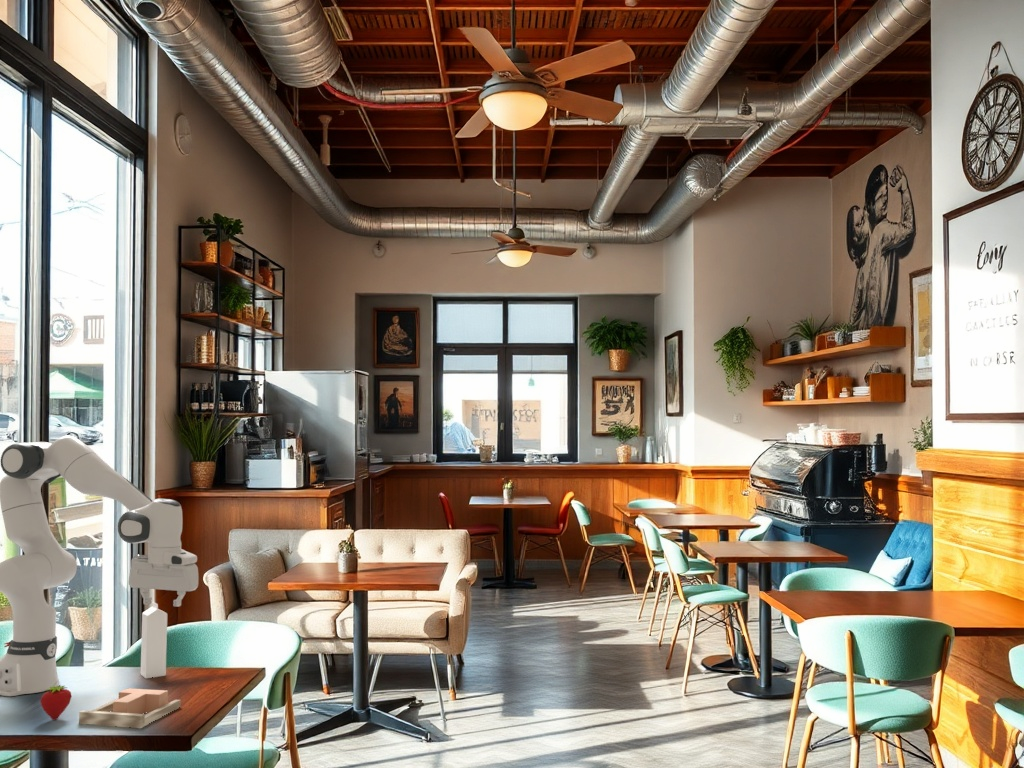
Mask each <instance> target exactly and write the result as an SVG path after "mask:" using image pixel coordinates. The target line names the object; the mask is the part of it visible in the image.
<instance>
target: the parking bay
mask: <svg viewBox="0 0 1024 768" xmlns="http://www.w3.org/2000/svg"><path fill="white" fill-rule="evenodd" d="M118 699H119V697H118V698H116V699H113V700H111V701H109V702H107V703H105V704H102V705H100V706H98V707H96V708H94V709H92V710H86V709H85V710H80V711H79V712H78V725H86V724H95V725H94V726H101V725H106V726H105V727H115V726H117V728H118V727H119V728H129V727H131V728H132V729H142V728H144V727H146V726H148V725H150V724H152V723H154V722H155V720H156V721H157V720H159V719H162V718H163V717H165V716H167V715H168V713H169V714H171V713H173V712H174V710H175V711H176V710H178V709H180V708H181V699H174V700H172V701H170V702H168V704H166V705H164V706H162V707H160V708H158V709H156V710H154V711H152V712H150V713H145V714H133V713H117V712H113V711H112V710H113V703H114V701H116V700H118ZM179 707H180V708H179ZM110 711H111V712H110ZM172 711H173V712H172ZM170 712H171V713H170ZM166 714H167V715H166ZM164 715H165V716H164ZM162 716H163V717H162ZM153 721H154V722H153ZM151 722H152V723H151ZM149 723H150V724H149Z"/></svg>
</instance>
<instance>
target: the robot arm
mask: <svg viewBox="0 0 1024 768" xmlns="http://www.w3.org/2000/svg"><path fill="white" fill-rule="evenodd" d="M0 467H1V470H2V471H3V472H4V474H5V476H4V477H3V478H2V479H1V480H0V511H1V515H2V520H3V523H4V527H5V533H6V537H7V539H8V540H9V541H10V542H12V543H14V544H15V545H17V546H18V547H19V548H20V549H21V550H22V551H23V553H24V554H20V555H15V556H13V557H10V558H8V559H5V560H2V561H1V562H0V593H2V594H3V595H4V596H5V597H6V598H7V600H8V602H9V605H10V607H11V613H12V621H13V622H12V627H13V628H12V629H13V630H12V640H10V641H8V642H5V643H4V645H3V648H7V647H8V648H7V650H6V653H5V654H3V655H2V656H1V657H0V696H3V697H4V696H5V697H15V696H20V695H25V694H26V695H27V694H35V693H37V694H38V693H42V692H45V690H47V689H51V688H50V687H54V686H55V687H56V686H58V687H60V685H61V683H60V679H59V675H58V669H57V661H56V659H57V658H56V655H57V649H58V637H57V636H56V633H57V630H56V627H57V610H56V609H55V607H53V606H52V605H51V604H49V603H48V602H47V601H46V597H45V593H44V590H47V589H52V588H53V589H54V588H56V587H59V586H62V585H64V584H66V583H68V582H71V580H72V579H74V577H75V575H76V573H77V569H78V565H77V560H76V557H75V556H74V554H72V553H71V552H69V551H67V550H66V549H64V548H63V546H62V545H61V544H60V543H59V542H58V540H57V539H56V536H54V534H53V532H52V529H51V528H50V525H49V520H48V516H47V513H46V509H45V505H44V500H43V497H42V492H41V491H42V490H41V489H42V486H43V485H44V483H45V484H51V483H52V482H53V481H55V480H56V479H58V478H60V477H62V478H63V479H64V480H65V481H66V482H67V483H68V484H69V486H71V487H72V488H74V489H75V490H76V491H78V492H80V493H81V494H84V495H87V496H88V495H89V496H96V497H103V498H108V499H112V500H115V501H116V502H118V503H120V504H122V506H124V507H125V509H127V510H128V511H126V512H124V513H123V514H122V515H121V516H120V518H119V520H118V522H117V532H118V535H119V537H120V539H121V540H122V541H124V542H125V543H127V544H140V543H148V549H147V552H148V553H147V554H136V555H134V556H133V557H132V558H131V561H130V572H129V577H128V585H129V587H130V588H132V589H133V588H134V589H135V588H136V589H139V593H140V594H141V597H142V599H143V601H142V602H143V605H151V604H152V602H153V601H152V597H151V596H150V595H149V593H148V592H149V591H150V590H162V591H163V590H165V591H176V594H177V595H178V596H177V598H176V599H173V600H172V601H173V602H172V606H173V607H181V606H182V600H183V599H184V597H185V595H186V593H187V592H193V591H196V590H197V588H198V587H199V567H198V565H197V564H196V563H197V562H198V556H197V555H196V554H194V553H192V552H189V551H186V550H185V549H182V540H181V537H182V536H181V535H182V533H183V524H184V523H183V521H184V520H183V509H182V505H181V504H180V502H179V501H177V500H174V499H170V498H155V499H151V498H150V497H149V496H148V495H147V494H146V493H144V492H143V491H142V490H140V488H138V487H137V486H136V485H135V484H133V483H132V482H131V481H130V480H128V479H127V478H126V477H125V476H123V475H122V474H120V473H119V472H117V471H116V470H115V469H114V468H112V467H111V466H110V465H109V464H108V463H107V462H106V461H105V460H103V458H102V457H100V456H99V455H98V454H97V453H96V452H95V451H94V450H93V449H92V448H91V447H90V446H88V445H87V444H86V443H84V442H83V441H82V440H80V439H79V438H77V437H75V436H73V435H63V436H61V437H58V438H56V439H55V440H54V441H53V442H47V441H35V442H34V441H33V442H32V441H31V442H26V441H25V442H15V443H13V444H11V445H9V446H7V447H6V448H5V449H4V450H3V452H2V454H1V456H0ZM55 683H56V684H55ZM54 684H55V685H54Z"/></svg>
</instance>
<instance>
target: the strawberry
mask: <svg viewBox="0 0 1024 768" xmlns="http://www.w3.org/2000/svg"><path fill="white" fill-rule="evenodd" d="M55 684H56V683H55ZM55 684H54V685H55ZM50 688H51V689H47V690H45V691H46V692H45V691H44V692H45V693H43V695H41V698H40V704H41V708H42V709H43V710H44V713H45V714H47V716H49V717H50V719H51V720H54V721H55V720H58V719H59V717H60V716H61V715H62V714H63V712H64V711H66V709H67V707H68V706H69V704H70V702H71V699H72V691H70V690H69V689H67V688H68V687H65V685H61V686H60V685H59V686H56V687H55V686H54V687H50Z"/></svg>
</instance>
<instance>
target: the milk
mask: <svg viewBox="0 0 1024 768" xmlns="http://www.w3.org/2000/svg"><path fill="white" fill-rule="evenodd" d="M151 604H152V605H151V606H150V607H149V608H148V609H146V610H145V611H143V612H142V613H141V641H140V642H141V643H140V644H141V645H140V646H141V647H140V648H141V649H140V652H141V653H140V675H141V677H144V678H145V679H151V678H152V677H153V678H158V677H159V678H160V677H165V676H166V675H167V648H168V647H167V645H168V644H167V642H168V641H167V640H168V639H167V638H168V637H167V636H168V613H167V612H165V611H163V610H161V609H159V604H158V603H157V602H155V601H152V602H151Z"/></svg>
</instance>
